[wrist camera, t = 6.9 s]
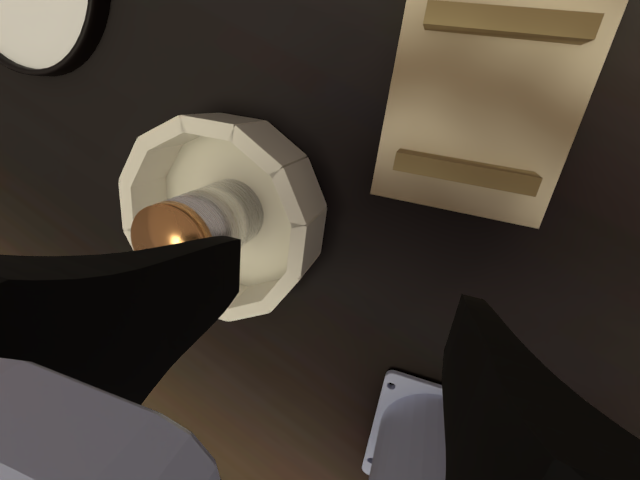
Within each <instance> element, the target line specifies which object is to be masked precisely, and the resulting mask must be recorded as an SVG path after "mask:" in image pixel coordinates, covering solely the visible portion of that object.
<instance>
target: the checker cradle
mask: <svg viewBox="0 0 640 480" xmlns="http://www.w3.org/2000/svg"><path fill="white" fill-rule="evenodd" d="M627 3H628V0H407V1H406V6H405V11H404V16H403V22H402V27H401V32H400V38H399V43H398V48H397V54H396V59H395V64H394V70H393V75H392V80H391V86H390V91H389V96H388V102H387V107H386V112H385V118H384V123H383V128H382V133H381V139H380V144H379V149H378V155H377V160H376V165H375V171H374V176H373V181H372V187H371V192H370V194H373V195H378V196H383V197H388V198H392V199H397V200H402V201H407V202H412V203H417V204H421V205H426V206H431V207H436V208H441V209H445V210H450V211H455V212H460V213H465V214H470V215H474V216H479V217H484V218H489V219H494V220H499V221H503V222H508V223H513V224H518V225H523V226H527V227H532V228H537V229H539V227H540V224H541V222H542V219H543V217H544V214H545V212H546V209H547V207H548V204H549V201H550V199H551V196H552V194H553V191H554V189H555V186H556V184H557V181H558V179H559V176H560V173H561V171H562V168H563V166H564V163H565V161H566V158H567V156H568V153H569V151H570V148H571V145H572V143H573V140H574V138H575V135H576V133H577V130H578V128H579V125H580V122H581V120H582V117H583V115H584V112H585V110H586V107H587V105H588V102H589V100H590V97H591V94H592V92H593V89H594V87H595V84H596V82H597V79H598V77H599V74H600V72H601V69H602V66H603V64H604V61H605V59H606V56H607V54H608V51H609V49H610V46H611V44H612V41H613V38H614V36H615V33H616V31H617V28H618V26H619V23H620V21H621V18H622V16H623V13H624V10H625V8H626V5H627Z"/></svg>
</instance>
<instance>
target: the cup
mask: <svg viewBox="0 0 640 480" xmlns="http://www.w3.org/2000/svg"><path fill="white" fill-rule="evenodd" d="M306 157H307V155H306V154H305V153H304V152H302V151H301V150H300V149H299V148H298V147H297V146H296V145H294V144H293V143H292V142H291V141H290V140H289V139H288V138H286V137H285V136H284V135H283V134H282V133H281V132H279V131H278V130H277V129H276V128H275V127H274V126H273V125H271V124H270V123H269V122H268V121H266V120H260V119H255V118H249V117H243V116H237V115H231V114H225V113H204V114H188V115H178V116H176V117H174V118H173V119H171V120H169V121H167V122H165V123H163V124H161V125H160V126H158V127H156V128H154V129H152V130H150V131H148V132H146V133H145V134H143V135H141V136H139V137H138V138H137V139H136V142H135V144H134V146H133V148H132V151H131V153H130V155H129V157H128V160H127V162H126V164H125V167H124V169H123V171H122V173H121V176H120V178H119V181H118V183H119V194H120V204H121V215H122V226H123V230H125V231H124V233H125V235H126V237H127V239H128V241H129V243H130V245H131V246H132V242H131V226H132V222H133V220H134V218H135V216H136V214H137V213H138V212H139V211H140V210H142V209H143V208H145V207H147V206H150V205H153V204H156V203H159V202H161V201H164V200H167V199H170V198H172V197H175V196H178V195H181V194H184V193H186V192H189V191H192V190H195V189H197V188H200V187H203V186H206V185H209V184H211V183H214V182H217V181H220V180H223V179H235V180H238V181H241V182H243V183H245V184H246V185H248V186H249V187H250V188H251V189H252V190H253V191H254V192H255V193H256V195H257V196H258V198H259V200H260V202H261V205H262V208H263V215H264V218H263V224H262V228H261V230H260V232H259V233H258V234H257V235H256V236H255V237H254V238H253V239H252V240H250V241H249V242H247V243H246V244H245V245H243V246H242V247H241V256H240V284H239V293H238V294H237V296H236V297H235V298H234V300H233V301H232V303H231V304H230V305H229V307H228V308H227V309H226V311H225V312H224V313H223V314H222V315H221V316H220V317H219V318H218V319H221V320H224V321H229V322H230V321H234V320H239V319H244V318H249V317H253V316H258V315H263V314H267V313H270V312H271V311H272V310H273V309H274V308H275V307H276V306H277V305H278V304H279V303H280V301H281V300H282V299H283V298H284V297H285V296H286V295H287V294H288V292H289V291H290V290H291V289H292V288H293V287H294V286H295V285H296V284H297V282H298V281H299V280H300V279H301V278H302V276H303V275H304V274H305V273H306V271H307V270H308V269H309V268H310V266H311V265H312V264H313V263H314V261H315V260H316V259H317V258H318V256H319V255H320V253H321V248H322V241H323V234H324V227H325V220H326V213H327V207H326V206H327V204H326V202H325V199H324V196H323V194H322V191H321V189H320V186H319V183H318V181H317V178H316V176H315V173H314V171H313V168H312V165H311V163H310V160H309V158H308V157H307V158H306ZM132 248H133V247H132ZM133 250H134V249H133Z"/></svg>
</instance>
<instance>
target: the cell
mask: <svg viewBox="0 0 640 480" xmlns="http://www.w3.org/2000/svg"><path fill="white" fill-rule="evenodd" d="M263 218H264V215H263V208H262V205H261V202H260V200H259V198H258V196H257V195H256V193H255V192H254V191H253V190H252V189H251V188H250V187H249V186H248V185H246V184H245V183H243V182H241V181H238V180H235V179H223V180H220V181H217V182H214V183H211V184H209V185H206V186H203V187H200V188H197V189H195V190H192V191H189V192H186V193H184V194H181V195H178V196H175V197H172V198H170V199H167V200H164V201H161V202H159V203H156V204H153V205H150V206H147V207H145V208H143V209H142V210H140V211H139V212H138V213H137V214H136V216H135V218H134V220H133V222H132V226H131V242H132V247H133V249H134V251H137V250H143V249H148V248H154V247H160V246H166V245H171V244H176V243H181V242H186V241H191V240H196V239H201V238H207V237H213V236H229V237H233V238H237V239H241V247H242V246H243V245H245V244H246V243H247V242H249V241H250V240H252V239H253V238H254V237H255V236H256V235H257V234H258V233H259V232H260V230H261V228H262V224H263Z"/></svg>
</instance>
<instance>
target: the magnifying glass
mask: <svg viewBox="0 0 640 480" xmlns="http://www.w3.org/2000/svg"><path fill="white" fill-rule="evenodd" d="M110 2H111V0H0V64H2V65H4V66H5V67H7V68H9V69H11V70H14V71H16V72H19V73H23V74H28V75H37V76H58V75H64V74H66V73H69V72H72V71H74V70H75V69H77V68H78V67H80V66H81V65H82V64H83V63H84V62H86V61H87V60H88V59H89V57H90V56H91V55H92V53H93V52H94V51H95V49H96V47H97V45H98V44H99V42H100V40H101V37H102V35H103V32H104V30H105V27H106V23H107V19H108V15H109V9H110Z"/></svg>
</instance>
